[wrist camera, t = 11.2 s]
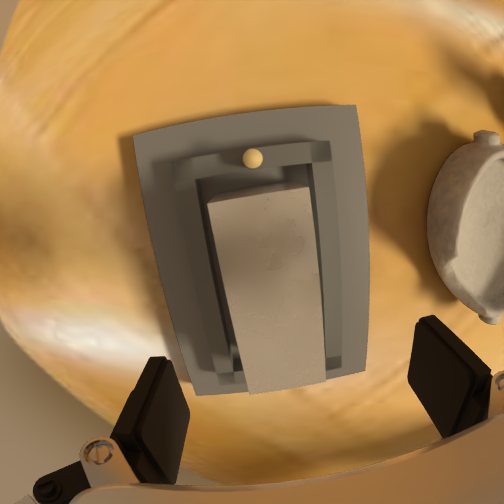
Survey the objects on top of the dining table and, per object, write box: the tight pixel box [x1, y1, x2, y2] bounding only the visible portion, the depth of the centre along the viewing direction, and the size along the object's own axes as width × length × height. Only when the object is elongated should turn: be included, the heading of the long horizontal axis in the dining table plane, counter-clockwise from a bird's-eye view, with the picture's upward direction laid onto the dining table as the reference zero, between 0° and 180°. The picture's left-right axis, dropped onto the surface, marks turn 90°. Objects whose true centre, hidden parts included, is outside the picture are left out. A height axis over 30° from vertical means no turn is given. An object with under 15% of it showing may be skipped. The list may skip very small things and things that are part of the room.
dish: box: [427, 130, 504, 325], centre depth 18 cm, size 14×14×5 cm
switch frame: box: [133, 105, 370, 396], centre depth 19 cm, size 20×14×4 cm
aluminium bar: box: [207, 181, 326, 394], centre depth 17 cm, size 4×11×5 cm, turn 9°
